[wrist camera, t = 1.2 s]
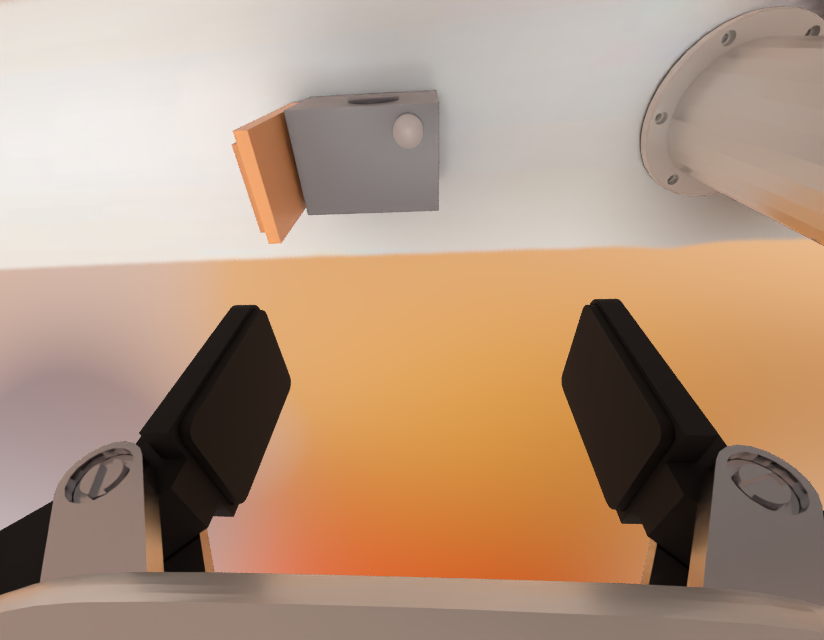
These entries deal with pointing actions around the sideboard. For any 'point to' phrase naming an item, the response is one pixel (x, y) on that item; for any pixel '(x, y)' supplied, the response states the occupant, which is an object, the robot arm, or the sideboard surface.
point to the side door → (270, 173)
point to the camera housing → (367, 152)
